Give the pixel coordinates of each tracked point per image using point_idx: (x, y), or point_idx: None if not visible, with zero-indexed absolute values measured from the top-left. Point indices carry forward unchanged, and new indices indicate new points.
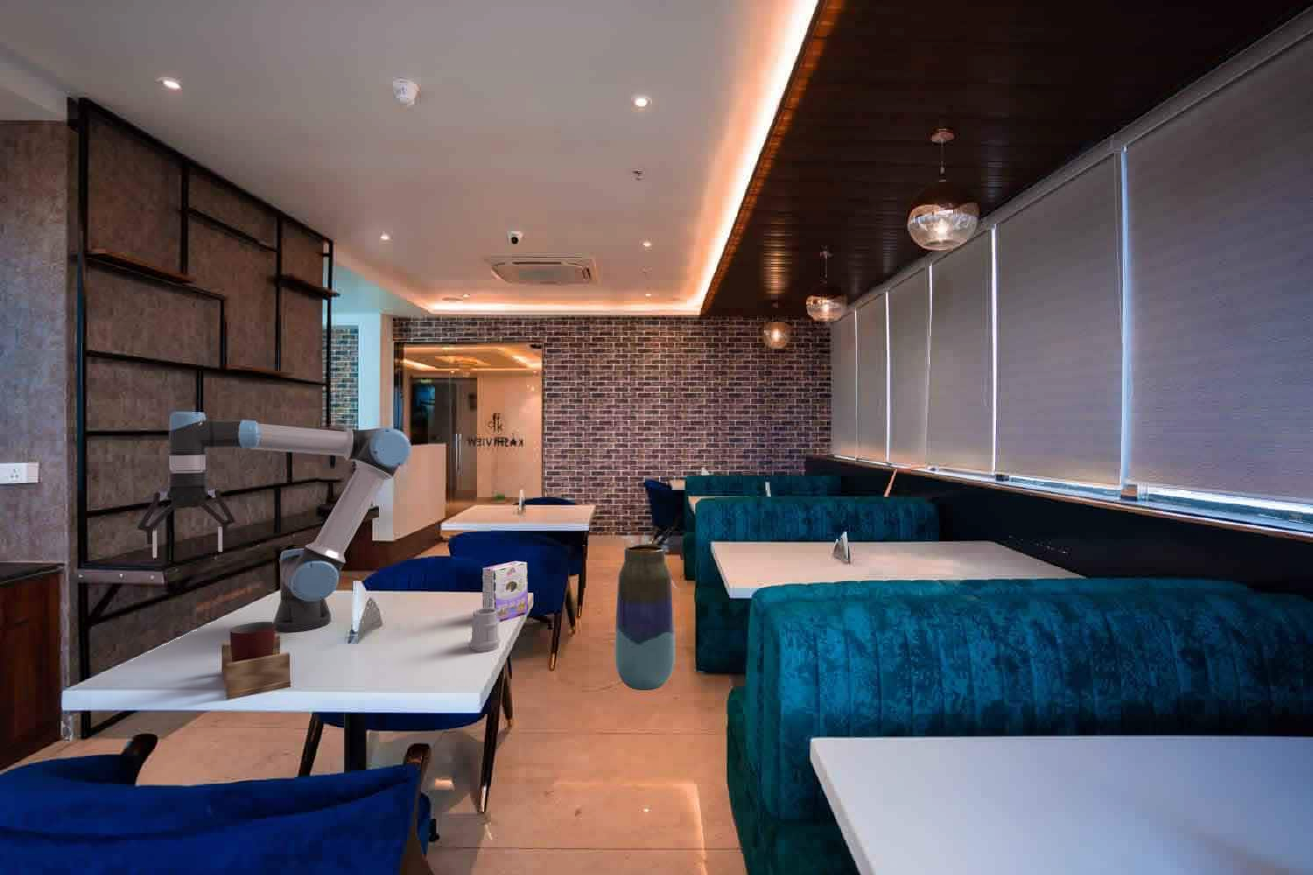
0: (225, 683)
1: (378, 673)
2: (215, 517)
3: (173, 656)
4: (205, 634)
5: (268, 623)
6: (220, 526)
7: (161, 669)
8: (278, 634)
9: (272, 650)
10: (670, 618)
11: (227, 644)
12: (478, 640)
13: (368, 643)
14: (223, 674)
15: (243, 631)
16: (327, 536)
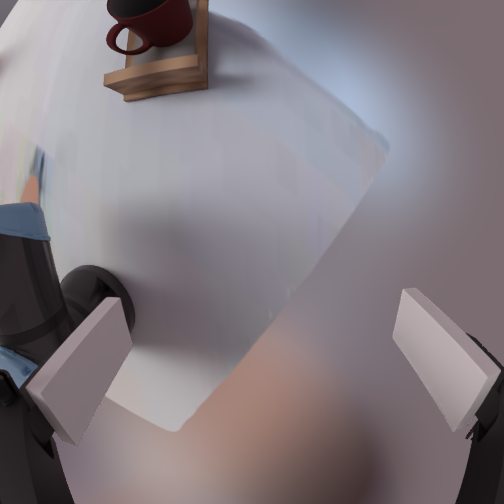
0: (206, 15)
1: (56, 20)
2: (18, 464)
3: (280, 238)
4: (234, 342)
5: (112, 14)
6: (45, 412)
7: (297, 168)
8: (104, 85)
9: (131, 9)
10: None
11: (188, 56)
12: None
13: (29, 140)
14: (205, 51)
15: (156, 16)
16: None
